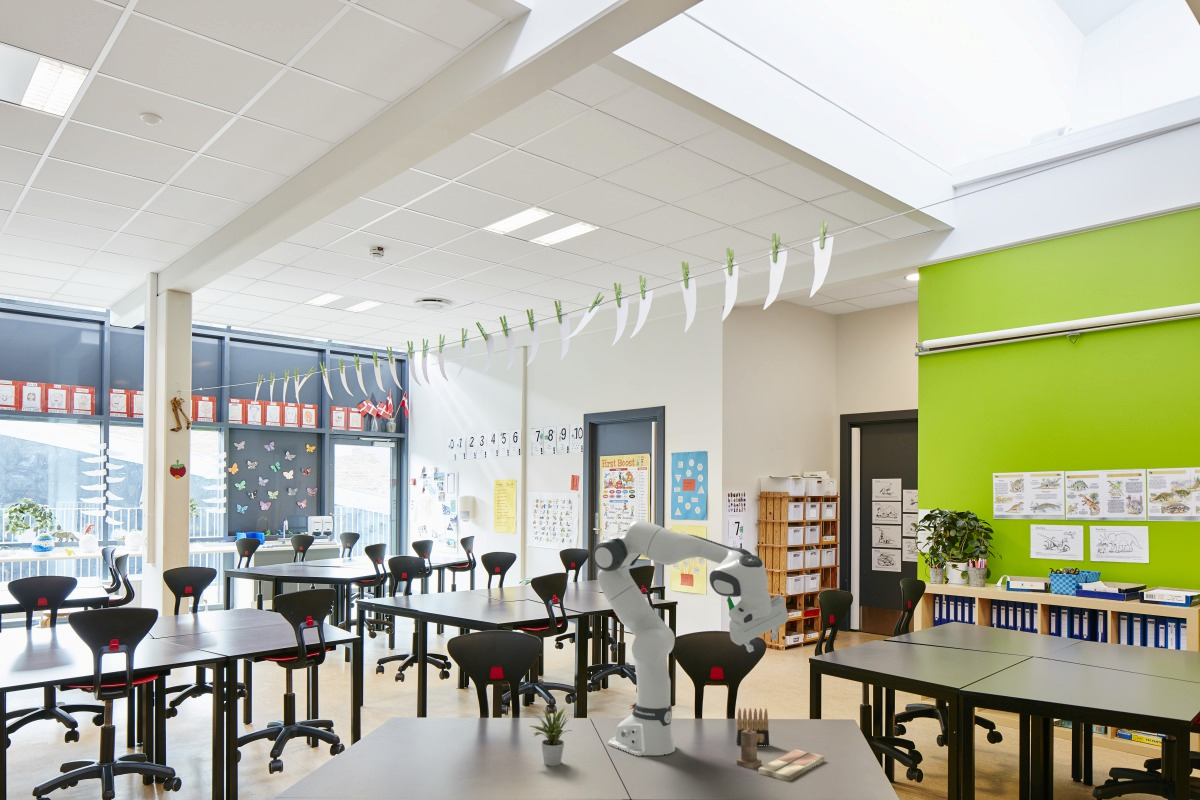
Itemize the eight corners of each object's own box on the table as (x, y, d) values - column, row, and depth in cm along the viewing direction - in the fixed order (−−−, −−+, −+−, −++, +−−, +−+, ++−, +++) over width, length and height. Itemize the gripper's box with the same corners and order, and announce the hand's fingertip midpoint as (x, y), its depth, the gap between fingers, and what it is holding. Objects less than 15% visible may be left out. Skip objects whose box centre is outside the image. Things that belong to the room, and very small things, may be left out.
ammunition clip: (768, 744, 281) (768, 707, 282) (769, 746, 279) (769, 709, 280) (736, 744, 281) (736, 707, 282) (737, 745, 279) (737, 708, 281)
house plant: (541, 751, 270) (542, 699, 272) (581, 757, 266) (582, 704, 267) (522, 765, 257) (523, 710, 258) (564, 771, 252) (565, 715, 254)
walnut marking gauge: (736, 765, 260) (736, 728, 262) (745, 760, 265) (745, 724, 266) (752, 769, 257) (752, 732, 258) (761, 764, 261) (761, 728, 262)
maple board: (758, 773, 253) (758, 767, 253) (795, 754, 271) (795, 748, 272) (788, 781, 247) (788, 775, 247) (824, 761, 265) (824, 755, 265)
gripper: (776, 589, 265) (782, 627, 269) (724, 614, 257) (730, 653, 260) (789, 596, 259) (795, 635, 263) (736, 622, 251) (742, 662, 255)
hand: (762, 644), depth 262 cm, fingers open, 8 cm apart
